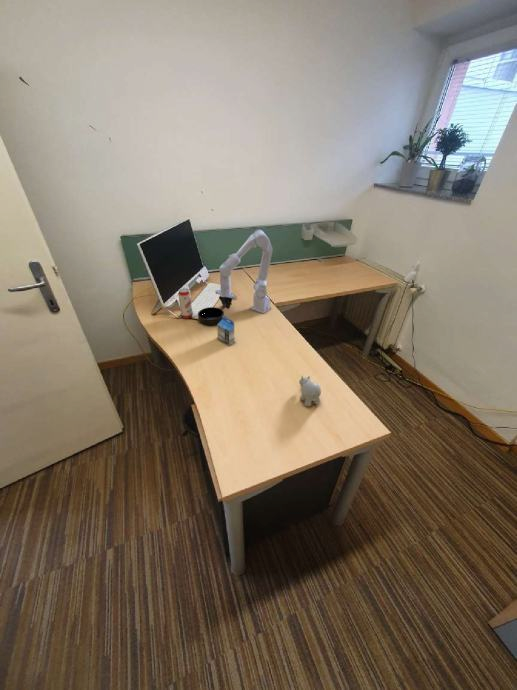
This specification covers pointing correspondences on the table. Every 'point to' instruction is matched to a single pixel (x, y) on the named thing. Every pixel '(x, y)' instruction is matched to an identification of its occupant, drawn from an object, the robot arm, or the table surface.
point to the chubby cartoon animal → (309, 391)
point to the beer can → (185, 303)
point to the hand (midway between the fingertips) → (226, 307)
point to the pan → (211, 315)
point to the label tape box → (226, 330)
